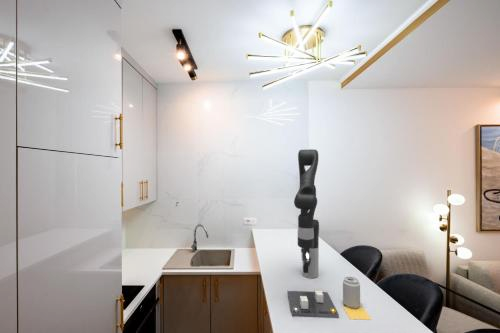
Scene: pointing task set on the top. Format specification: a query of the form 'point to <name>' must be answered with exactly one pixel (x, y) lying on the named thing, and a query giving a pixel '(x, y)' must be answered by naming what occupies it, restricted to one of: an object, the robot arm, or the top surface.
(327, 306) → the panel
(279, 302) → the top surface
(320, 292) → the block
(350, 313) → the pad
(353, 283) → the can
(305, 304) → the block
